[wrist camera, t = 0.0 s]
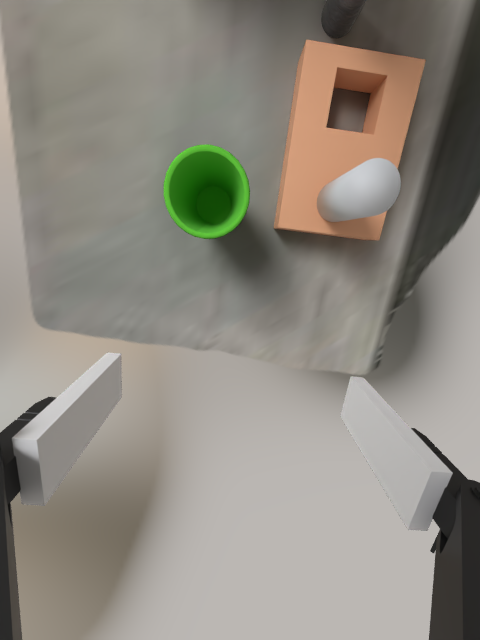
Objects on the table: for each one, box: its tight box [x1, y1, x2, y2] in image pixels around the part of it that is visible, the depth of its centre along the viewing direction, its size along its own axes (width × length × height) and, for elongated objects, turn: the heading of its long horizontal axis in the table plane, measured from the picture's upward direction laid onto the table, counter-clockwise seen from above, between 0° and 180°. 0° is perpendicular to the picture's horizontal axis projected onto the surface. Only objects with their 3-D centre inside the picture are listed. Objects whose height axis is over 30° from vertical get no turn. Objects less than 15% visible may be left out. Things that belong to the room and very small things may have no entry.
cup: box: [164, 145, 250, 239], centre depth 33 cm, size 9×9×11 cm
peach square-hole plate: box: [274, 40, 426, 240], centre depth 30 cm, size 20×14×14 cm
